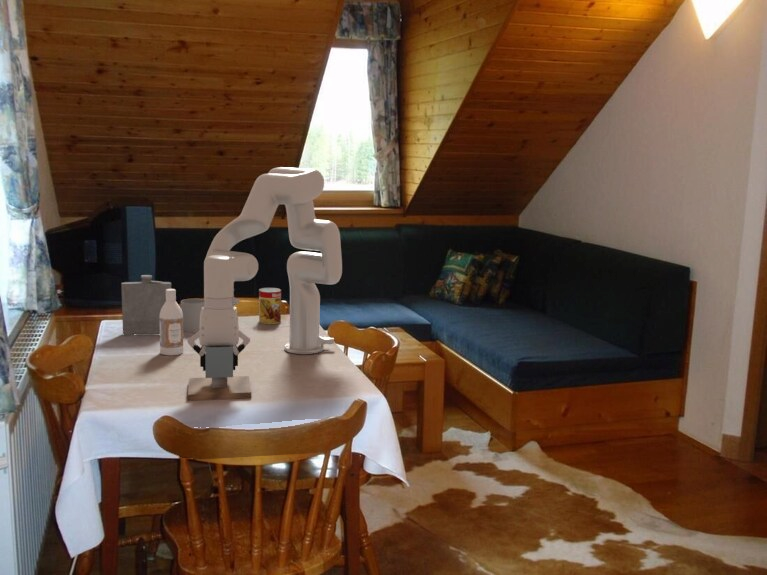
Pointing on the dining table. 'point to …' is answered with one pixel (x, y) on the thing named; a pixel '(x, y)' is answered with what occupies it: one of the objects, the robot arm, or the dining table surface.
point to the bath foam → (171, 326)
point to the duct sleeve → (219, 361)
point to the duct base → (219, 388)
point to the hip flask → (143, 305)
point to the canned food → (269, 305)
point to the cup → (191, 314)
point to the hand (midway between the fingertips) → (219, 368)
